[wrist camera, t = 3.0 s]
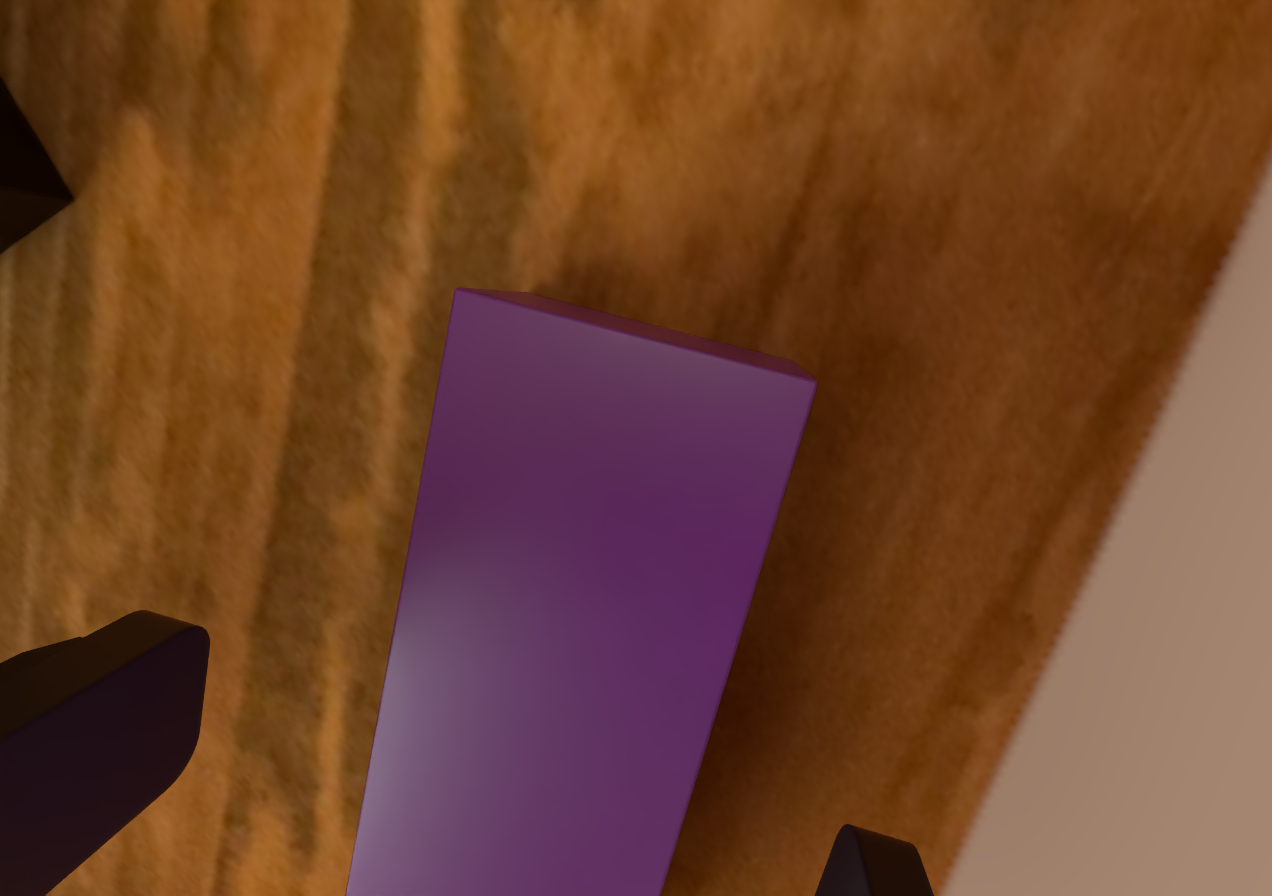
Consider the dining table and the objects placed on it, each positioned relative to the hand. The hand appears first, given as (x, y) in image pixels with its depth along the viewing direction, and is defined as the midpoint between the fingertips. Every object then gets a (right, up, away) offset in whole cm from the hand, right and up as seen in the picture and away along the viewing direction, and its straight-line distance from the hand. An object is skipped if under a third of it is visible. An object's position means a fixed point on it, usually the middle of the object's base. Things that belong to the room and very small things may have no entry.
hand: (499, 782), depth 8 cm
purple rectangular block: (+1, +1, +4) cm, 4 cm away
